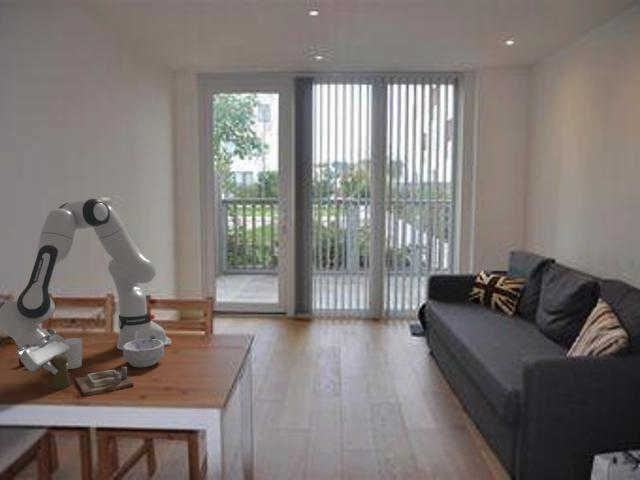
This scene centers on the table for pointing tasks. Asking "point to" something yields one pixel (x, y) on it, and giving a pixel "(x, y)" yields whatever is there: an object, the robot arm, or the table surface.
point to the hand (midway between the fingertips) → (62, 369)
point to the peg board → (104, 381)
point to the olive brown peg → (60, 372)
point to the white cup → (74, 353)
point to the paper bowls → (143, 352)
